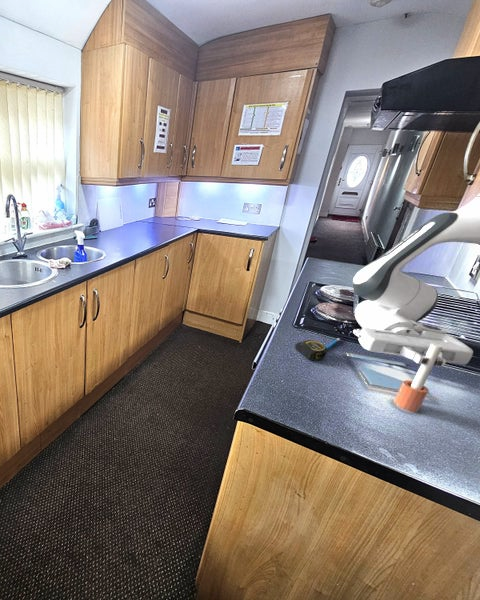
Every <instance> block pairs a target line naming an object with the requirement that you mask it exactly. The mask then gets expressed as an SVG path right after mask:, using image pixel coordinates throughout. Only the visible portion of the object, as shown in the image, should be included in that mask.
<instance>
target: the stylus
mask: <svg viewBox="0 0 480 600" xmlns="http://www.w3.org/2000/svg"><path fill="white" fill-rule="evenodd" d="M442 347H443V346H442V345H439V344H436V343H431V345H430V347H429V349H428V351H427V353H426V357H428V361H427V363H426V364H420V366H419V368H418V370H417V372H416V375H415V377H414V378H413V380H412V381H413V382H412V384H411V386H410V387H412V388H414V389H418V390H421V389H422V387H423V386H425V384H426V381H427V379H428V377H429V375H430V373H431V371H432V370H433V367H434V363H435V361H436V359H437V357H438V355H439V353H440V351H441V349H442Z"/></svg>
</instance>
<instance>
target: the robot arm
mask: <svg viewBox="0 0 480 600" xmlns="http://www.w3.org/2000/svg"><path fill="white" fill-rule="evenodd" d="M444 243H463V244H464V243H465V244H475V245H477V244H478V245H480V192H479V193H478V194H477V195H476V196H475V197H474V198H473V199H472V200H470V201H469V202H468V203H466V204H464V205H463V206H461V207H459V208H458V209H456V210H453V211H451V212H441V213H439V214H437V215H435V216H434V217H432V218H430V219H429V220H427V221H426V222H424V223H423V224H421V225H420V226H418V227H417V228H416V229H415V230H413V231H412V232H410V234H408V235H406V236H405V237H404V238H403V239H401V240H400V241H399V242H398V243H397V244H395V245H394V246H393V247H391V248H390V249H388V250H387V251H386V252H384V253H383V254H382V255H380V256H379V257H377V258H376V259H375V260H373V261H371V262H370V263H367V264H366V265H364V266H363V267H362V268H360V269H359V270H358V271H357V272H356V273H355V274H354V276H353V278H352V281H351V283H352V288H353V292H354V294H355V295H356V296H358V297H359V298H362V299H365V300H363V301H361V302H360V303H358V304H357V306H356V307H355V309H354V319H355V320H356V322H357V323H358V325H359V326H360V327H361V328H356V329H353V330H352V334H354V336H356V337H357V338H358V342H359V344H360V346H361V347H362V348H363V350H366V351H368V352H372V353H378V354H384V355H385V354H386V355H391V356H400V357H404V358H407V359H409V360H410V361H413V362H415V363H416V364H419V365H421V364H426V363H427V361H428V357H426V353H427V351H428V349H429V347H430V345H431V343H436V344H439V345H442V346H443V347H442V349H441V351H440V353H439V355H438V357H437V359H436V361H435V363H434V365H433V367H441V368H444V367H445V365H446V364H447V363H449V364H457V365H465V366H466V365H468V363H470V361H471V359H472V357H473V355H474V350H473V349H472V348H471V347H469V346H468V345H467V344H465V343H464V342H462V341H461V340H459V339H457V337H454V336H451V335H449V334H447V330H445V328H441V327H437V326H433V325H429V324H425V323H422V322H419V321H421V320H423V319H424V318H426V317H428V315H430V314H432V313H433V311H434V310H435V308H436V307H437V305H438V300H439V292H438V290H437V289H436V288H435V287H434V286H432V285H430V284H428V283H426V282H424V281H422V280H420V279H417V278H414V277H413V276H410V275H409V274H406V273H404V272H402V271H400V270H401V269H402V268H403V267H406V265H407V264H409V263H410V262H412V261H413V260H414V259H416V258H417V257H418V256H420V255H422V254H423V253H424V252H426V251H427V250H428V249H431V247H434V246H436V245H440V244H444Z"/></svg>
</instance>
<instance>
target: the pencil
mask: <svg viewBox="0 0 480 600" xmlns="http://www.w3.org/2000/svg"><path fill="white" fill-rule="evenodd" d="M340 341H341V337H338V338H336V339H335V340H333V341H332V342H331V343H329V344H328V345H325V346H326V349H327V350H328V349H329V348H331V347H332V346H333V345H335V344H336V343H337V342H340Z"/></svg>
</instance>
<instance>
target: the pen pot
mask: <svg viewBox="0 0 480 600" xmlns="http://www.w3.org/2000/svg"><path fill="white" fill-rule="evenodd" d="M402 381H403V383H402V385H401V387H400V389H399V391H398V392H396V395H395V398H393V402H394V404H395V405H396V406H397V407H399V408H400V409H403V410H405V411H408V412H412V413H415V412H418V411H420V409H421V408H422V405H423V403H424V401H425V399H427V398H426V396H427V394H428V393H429V392H430V389H429V388H428V387H426V385H423V387H422V389H421V390H418V389H414V388H412V387H410V386H411V384H412V382H413V380H402Z"/></svg>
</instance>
